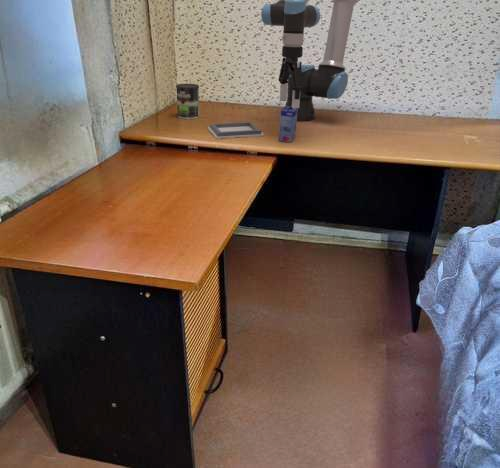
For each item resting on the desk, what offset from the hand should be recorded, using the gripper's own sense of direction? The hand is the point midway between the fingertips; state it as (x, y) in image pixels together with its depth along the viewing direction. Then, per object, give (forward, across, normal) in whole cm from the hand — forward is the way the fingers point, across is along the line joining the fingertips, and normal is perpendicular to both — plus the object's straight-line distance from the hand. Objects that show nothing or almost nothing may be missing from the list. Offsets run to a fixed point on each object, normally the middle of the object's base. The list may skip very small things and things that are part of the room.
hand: (289, 104), depth 185 cm
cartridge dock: (+14, -14, -18) cm, 27 cm away
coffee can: (+14, -46, -32) cm, 58 cm away
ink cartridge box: (+14, 0, 0) cm, 14 cm away
